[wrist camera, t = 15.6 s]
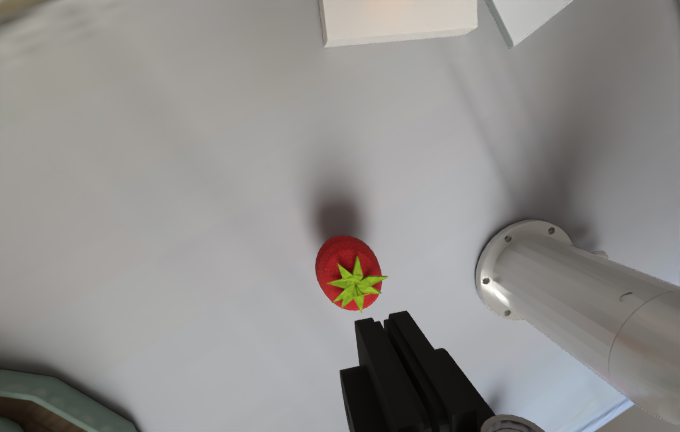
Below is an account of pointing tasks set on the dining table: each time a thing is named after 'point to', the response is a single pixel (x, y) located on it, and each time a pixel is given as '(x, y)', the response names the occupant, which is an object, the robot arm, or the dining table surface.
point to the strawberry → (348, 272)
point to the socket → (394, 20)
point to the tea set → (52, 407)
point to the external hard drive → (522, 16)
